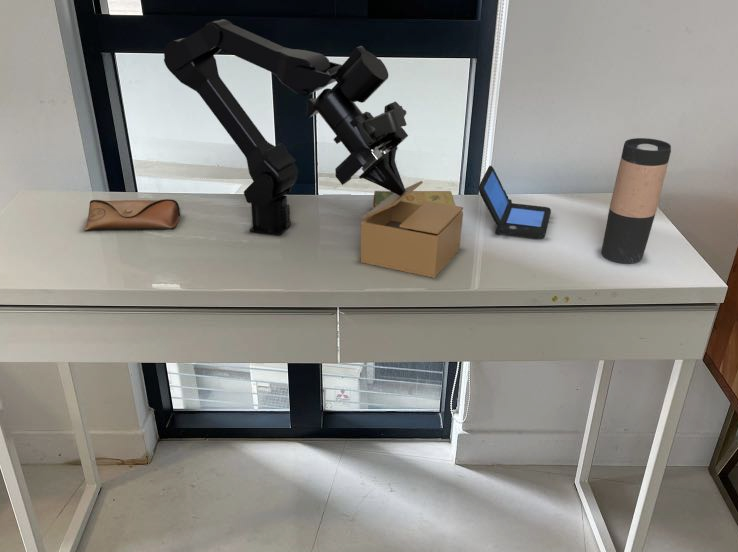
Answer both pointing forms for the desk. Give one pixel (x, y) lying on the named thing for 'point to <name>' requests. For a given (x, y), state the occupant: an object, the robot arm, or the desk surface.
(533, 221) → the game console
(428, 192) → the carton
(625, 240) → the travel mug
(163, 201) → the sunglasses case
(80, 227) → the desk surface
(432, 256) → the kraft box
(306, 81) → the robot arm
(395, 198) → the flap
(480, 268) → the desk surface
